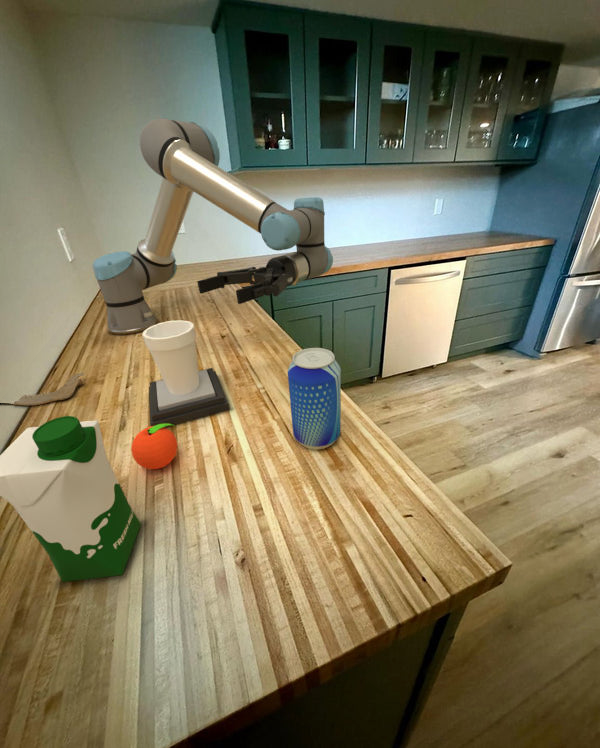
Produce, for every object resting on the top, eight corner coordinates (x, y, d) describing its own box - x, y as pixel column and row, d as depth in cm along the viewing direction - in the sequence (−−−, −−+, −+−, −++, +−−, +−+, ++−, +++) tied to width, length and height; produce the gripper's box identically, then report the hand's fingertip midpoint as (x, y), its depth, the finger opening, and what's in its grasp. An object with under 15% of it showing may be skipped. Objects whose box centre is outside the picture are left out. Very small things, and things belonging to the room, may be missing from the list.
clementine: (172, 440, 62) (162, 408, 58) (195, 455, 58) (185, 423, 54) (130, 466, 56) (116, 433, 53) (152, 485, 52) (138, 451, 49)
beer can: (345, 425, 62) (345, 347, 54) (334, 457, 55) (333, 373, 47) (302, 418, 65) (296, 343, 57) (286, 447, 58) (278, 366, 50)
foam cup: (193, 400, 66) (177, 340, 59) (151, 397, 68) (132, 338, 61) (213, 376, 74) (201, 320, 67) (175, 374, 76) (160, 319, 69)
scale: (150, 393, 76) (147, 381, 75) (216, 377, 81) (214, 366, 80) (152, 431, 64) (148, 418, 63) (229, 409, 69) (227, 397, 67)
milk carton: (127, 582, 40) (56, 456, 30) (49, 591, 39) (-51, 467, 29) (150, 517, 47) (99, 400, 37) (84, 525, 47) (15, 408, 37)
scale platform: (158, 387, 74) (155, 381, 74) (207, 375, 78) (206, 369, 77) (160, 414, 66) (157, 407, 65) (216, 399, 69) (214, 392, 68)
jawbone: (88, 396, 78) (84, 389, 76) (-22, 428, 70) (-28, 421, 69) (87, 377, 84) (83, 370, 83) (-13, 404, 76) (-19, 397, 75)
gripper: (325, 293, 79) (259, 320, 66) (255, 279, 94) (189, 299, 80) (325, 260, 75) (254, 282, 62) (251, 251, 90) (181, 267, 77)
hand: (217, 292), depth 71 cm, fingers open, 13 cm apart
